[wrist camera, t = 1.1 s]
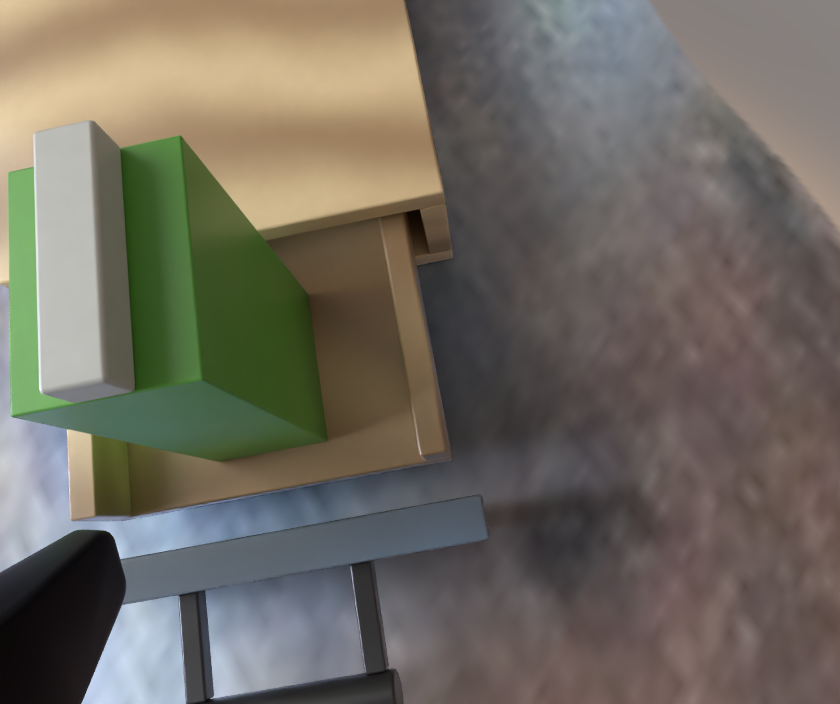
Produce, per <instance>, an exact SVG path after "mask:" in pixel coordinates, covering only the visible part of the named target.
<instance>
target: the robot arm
mask: <svg viewBox="0 0 840 704" xmlns="http://www.w3.org/2000/svg"><path fill="white" fill-rule="evenodd" d="M125 594H126V578H125V574H124V571H123V567H122V564H121V560H120V557H119V553H118V550H117V546H116V543H115V540H114V537H113V536H112V535H111V534H110V533H109V532H106V531H100V530H76V531H73V532H71V533H70V534H68V535H66V536H64V537H62V538H61V539H59V540H57V541H55V542H54V543H52V544H50V545H48V546H47V547H45V548H43V549H41V550H39V551H38V552H36V553H34V554H32V555H31V556H29V557H27V558H25V559H24V560H22V561H20V562H18V563H17V564H15V565H13V566H11V567H9V568H8V569H6V570H4V571H2V572H1V573H0V704H81V703H82V701H83V698H84V696H85V694H86V691H87V689H88V686H89V684H90V681H91V679H92V677H93V674H94V672H95V669H96V667H97V664H98V662H99V659H100V657H101V655H102V652H103V650H104V647H105V645H106V642H107V640H108V638H109V635H110V633H111V630H112V628H113V625H114V623H115V621H116V618H117V616H118V613H119V611H120V608H121V606H122V604H123V601H124V598H125Z"/></svg>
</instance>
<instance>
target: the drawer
mask: <svg viewBox="0 0 840 704" xmlns="http://www.w3.org/2000/svg"><path fill="white" fill-rule="evenodd" d="M266 242H267V243H268V245H269V246H270V247H271V248H272V250H273V251H274V252H275V253H276V255H277V256H278V257H279V258H280V260H281V261H282V262H283V263H284V265H285V266H286V267H287V268H288V270H289V271H290V272H291V273H292V275H293V276H294V277H295V278H296V280H297V281H298V282H299V283H300V285H301V286H302V287H303V288H304V290H305V291H306V292H307V293H308V298H309V305H310V312H311V320H312V327H313V334H314V342H315V349H316V356H317V363H318V371H319V378H320V385H321V393H322V400H323V407H324V415H325V422H326V429H327V437H328V441H327V442H322V443H316V444H311V445H306V446H300V447H295V448H290V449H284V450H279V451H274V452H268V453H263V454H258V455H253V456H247V457H242V458H237V459H231V460H226V461H221V462H217V461H213V460H208V459H203V458H199V457H194V456H189V455H185V454H180V453H176V452H171V451H166V450H162V449H157V448H153V447H148V446H143V445H139V444H134V443H129V442H125V441H120V440H116V439H111V438H106V437H102V436H97V435H93V434H88V433H83V432H79V431H74V430H70V429H67V438H68V467H69V497H70V520H71V521H125V520H130V519H136V518H141V517H147V516H152V515H158V514H163V513H168V512H174V511H179V510H185V509H190V508H195V507H201V506H206V505H212V504H217V503H223V502H228V501H233V500H239V499H244V498H250V497H255V496H260V495H266V494H271V493H277V492H282V491H288V490H293V489H298V488H304V487H309V486H315V485H320V484H325V483H331V482H336V481H342V480H347V479H353V478H358V477H363V476H369V475H374V474H380V473H385V472H390V471H396V470H401V469H407V468H412V467H418V466H423V465H428V464H434V463H439V462H445V461H450V460H451V459H452V454H451V448H450V443H449V437H448V432H447V426H446V421H445V416H444V410H443V405H442V399H441V394H440V389H439V383H438V378H437V372H436V367H435V361H434V356H433V351H432V345H431V340H430V334H429V329H428V323H427V318H426V313H425V307H424V302H423V296H422V291H421V285H420V280H419V275H418V269H417V264H416V258H415V253H414V247H413V242H412V237H411V231H410V226H409V220H408V215H407V212H402V213H397V214H392V215H388V216H383V217H378V218H373V219H368V220H363V221H358V222H353V223H349V224H344V225H339V226H334V227H329V228H324V229H319V230H315V231H310V232H305V233H300V234H295V235H290V236H285V237H281V238H276V239H271V240H266ZM489 538H490V534H489V528H488V523H487V518H486V513H485V508H484V503H483V498H482V496H481V495H473V496H468V497H462V498H457V499H451V500H446V501H440V502H435V503H429V504H424V505H418V506H413V507H407V508H402V509H396V510H391V511H385V512H380V513H374V514H369V515H363V516H357V517H352V518H346V519H341V520H335V521H330V522H324V523H319V524H313V525H308V526H302V527H297V528H291V529H286V530H280V531H275V532H269V533H264V534H258V535H253V536H247V537H242V538H236V539H231V540H225V541H220V542H214V543H209V544H203V545H198V546H192V547H187V548H181V549H176V550H170V551H165V552H159V553H154V554H148V555H143V556H137V557H132V558H126V559H120V560H121V564H122V567H123V571H124V574H125V578H126V594H125V598H124V601H123V604H122V605H125V604H130V603H136V602H141V601H147V600H153V599H158V598H164V597H170V596H175V595H179V596H178V600H179V614H180V627H181V641H182V655H183V668H184V682H185V695H186V704H404V701H403V692H402V686H401V681H400V677H399V674H398V672H397V670H396V669H393V668H392V669H387V668H388V666H389V663H388V656H387V649H386V643H385V636H384V629H383V622H382V615H381V609H380V602H379V595H378V588H377V582H376V575H375V568H374V562H373V560H378V559H384V558H389V557H395V556H400V555H406V554H412V553H417V552H423V551H429V550H434V549H440V548H446V547H451V546H457V545H462V544H468V543H474V542H479V541H485V540H488V539H489ZM344 565H350V571H351V578H352V585H353V592H354V600H355V607H356V614H357V621H358V628H359V636H360V643H361V650H362V657H363V665H364V672H365V673H362V674H356V675H350V676H344V677H338V678H333V679H327V680H321V681H315V682H309V683H303V684H297V685H291V686H285V687H279V688H273V689H267V690H261V691H255V692H249V693H243V694H238V695H232V696H226V697H220V698H214V699H210V698H212V697H213V696H214V690H213V678H212V666H211V654H210V642H209V631H208V619H207V607H206V595H205V590H209V589H215V588H220V587H226V586H232V585H237V584H243V583H248V582H254V581H260V580H265V579H271V578H277V577H282V576H288V575H294V574H299V573H305V572H310V571H316V570H322V569H327V568H333V567H339V566H344Z"/></svg>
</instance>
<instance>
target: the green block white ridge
mask: <svg viewBox="0 0 840 704" xmlns="http://www.w3.org/2000/svg"><path fill="white" fill-rule="evenodd" d="M33 149H34V167H30V168H25V169H21V170H16V171H11V172H9V173H8V231H9V312H10V394H11V416H12V417H14V418H19V419H23V420H28V421H33V422H37V423H42V424H46V425H51V426H56V427H60V428H65V429H70V430H74V431H79V432H83V433H88V434H93V435H97V436H102V437H106V438H111V439H116V440H120V441H125V442H129V443H134V444H139V445H143V446H148V447H153V448H157V449H162V450H166V451H171V452H176V453H180V454H185V455H189V456H194V457H199V458H203V459H208V460H213V461H217V462H221V461H226V460H231V459H237V458H242V457H247V456H253V455H258V454H263V453H268V452H274V451H279V450H284V449H290V448H295V447H300V446H306V445H311V444H316V443H322V442H327V441H328V437H327V429H326V422H325V415H324V407H323V400H322V393H321V385H320V378H319V371H318V363H317V356H316V349H315V342H314V334H313V327H312V320H311V312H310V305H309V298H308V293H307V292H306V291H305V290H304V288H303V287H302V286H301V285H300V283H299V282H298V281H297V280H296V278H295V277H294V276H293V275H292V273H291V272H290V271H289V270H288V268H287V267H286V266H285V265H284V263H283V262H282V261H281V260H280V258H279V257H278V256H277V255H276V253H275V252H274V251H273V250H272V248H271V247H270V246H269V245H268V243H267V242H266V241H265V240H264V238H263V237H262V236H261V235H260V233H259V232H258V231H257V230H256V228H255V227H254V226H253V225H252V223H251V222H250V221H249V220H248V218H247V217H246V216H245V215H244V213H243V212H242V211H241V210H240V208H239V207H238V206H237V205H236V203H235V202H234V201H233V200H232V198H231V197H230V196H229V195H228V193H227V192H226V191H225V190H224V188H223V187H222V186H221V185H220V183H219V182H218V181H217V180H216V178H215V177H214V176H213V175H212V173H211V172H210V171H209V170H208V168H207V167H206V166H205V165H204V163H203V162H202V161H201V160H200V158H199V157H198V156H197V155H196V153H195V152H194V151H193V150H192V148H191V147H190V146H189V145H188V143H187V142H186V141H185V140H184V138H183V137H182V136H181V135H178V136H173V137H169V138H164V139H160V140H155V141H150V142H146V143H141V144H136V145H132V146H127V147H123V148H120V147H119V146H118V144H117V143H116V142H115V141H114V140H113V139H112V138H111V137H110V136H109V135H108V134H107V133H106V132H105V131H104V130H103V129H102V128H101V127H100V126H99V125H98V124H97V123H96V122H95V121H93V120H87V121H82V122H78V123H73V124H69V125H64V126H59V127H55V128H50V129H46V130H41V131H37V132H35V133H34V135H33Z"/></svg>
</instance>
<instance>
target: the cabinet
mask: <svg viewBox="0 0 840 704" xmlns="http://www.w3.org/2000/svg"><path fill="white" fill-rule="evenodd" d="M87 120H93V121H95V122H96V123H97V124H98V125H99V126H100V127H101V128H102V129H103V130H104V131H105V132H106V133H107V134H108V135H109V136H110V137H111V138H112V139H113V140H114V141H115V142H116V143H117V144H118V146H119V147H120V148H123V147H127V146H132V145H136V144H141V143H146V142H150V141H155V140H160V139H164V138H169V137H173V136H178V135H181V136H182V137H183V138H184V140H185V141H186V142H187V143H188V145H189V146H190V147H191V148H192V150H193V151H194V152H195V153H196V155H197V156H198V157H199V158H200V160H201V161H202V162H203V163H204V165H205V166H206V167H207V168H208V170H209V171H210V172H211V173H212V175H213V176H214V177H215V178H216V180H217V181H218V182H219V183H220V185H221V186H222V187H223V188H224V190H225V191H226V192H227V193H228V195H229V196H230V197H231V198H232V200H233V201H234V202H235V203H236V205H237V206H238V207H239V208H240V210H241V211H242V212H243V213H244V215H245V216H246V217H247V218H248V220H249V221H250V222H251V223H252V225H253V226H254V227H255V228H256V230H257V231H258V232H259V233H260V235H261V236H262V237H263V238H264V240H265V241H266V240H271V239H276V238H281V237H285V236H290V235H295V234H300V233H305V232H310V231H315V230H319V229H324V228H329V227H334V226H339V225H344V224H349V223H353V222H358V221H363V220H368V219H373V218H378V217H383V216H388V215H392V214H397V213H402V212H407V215H408V220H409V226H410V231H411V237H412V242H413V247H414V253H415V258H416V264H417V265H422V264H427V263H432V262H437V261H442V260H447V259H451V258H453V253H452V245H451V238H450V231H449V223H448V216H447V209H446V202H445V194H444V188H443V183H442V178H441V173H440V169H439V164H438V159H437V154H436V149H435V144H434V139H433V134H432V129H431V124H430V119H429V114H428V109H427V104H426V99H425V94H424V89H423V84H422V79H421V75H420V70H419V65H418V60H417V55H416V50H415V45H414V40H413V35H412V30H411V25H410V20H409V15H408V10H407V5H406V0H0V285H3V286H5V287H7V288H9V231H8V173H9V172H11V171H16V170H21V169H25V168H30V167H34V149H33V135H34V133H35V132H37V131H41V130H46V129H50V128H55V127H59V126H64V125H69V124H73V123H78V122H82V121H87Z"/></svg>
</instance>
